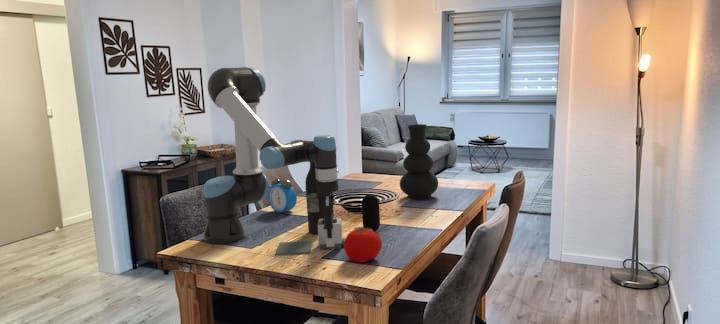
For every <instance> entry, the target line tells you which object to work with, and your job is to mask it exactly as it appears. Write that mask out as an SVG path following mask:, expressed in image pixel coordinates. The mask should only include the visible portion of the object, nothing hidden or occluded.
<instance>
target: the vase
mask: <svg viewBox="0 0 720 324" xmlns="http://www.w3.org/2000/svg"><path fill="white" fill-rule="evenodd" d="M407 128H408V131H409V139H408V140H407V141H406V143H405V146H404V147H405V148H404V149H405V151H406V153H407V154H408V155H406V157H405V158H404V160H403V162H402V163H403V164H402V165H403V168H404V169H405V171H407V172H406V173H405V174H403V175H402V176H401V177H400V180H399V186H400V188H399V189H400V190H401V191H402V192H403V193H404V194H405V195H407V197H408V199H412V200H424V199H425V200H426V199H429V198H431V197H432V194H434V193H435V192H436V191H437V189H438V187H439V180H438V177H437V176H436V175H435V173H432V172H431V170H432V169H433V167H434V159H433V158H432V156H430V155H429V154H428V153H430V150H431V144H430V142H429V140H428V139H427V138H425V137H426V128H427V124H426V123H425V124H424V123H423V124H422V123H419V124H415V123H414V124H408V125H407Z"/></svg>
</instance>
